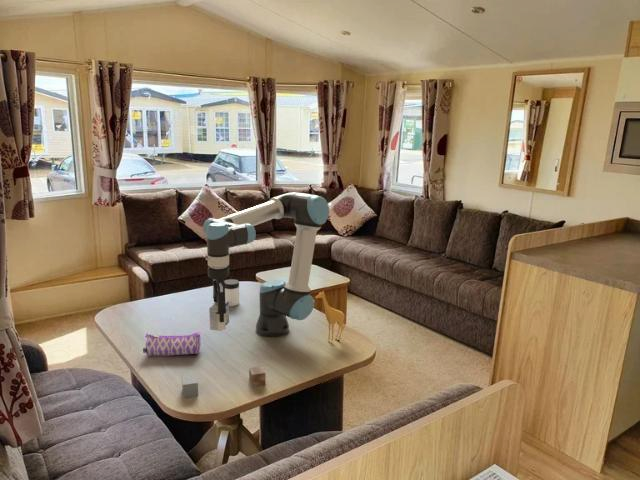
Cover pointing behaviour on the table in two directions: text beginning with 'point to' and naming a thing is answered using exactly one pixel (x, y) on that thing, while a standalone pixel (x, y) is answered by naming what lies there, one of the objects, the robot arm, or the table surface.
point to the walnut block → (257, 376)
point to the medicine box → (214, 316)
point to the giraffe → (332, 315)
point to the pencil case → (172, 344)
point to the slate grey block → (190, 386)
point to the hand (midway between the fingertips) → (219, 324)
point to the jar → (232, 292)
